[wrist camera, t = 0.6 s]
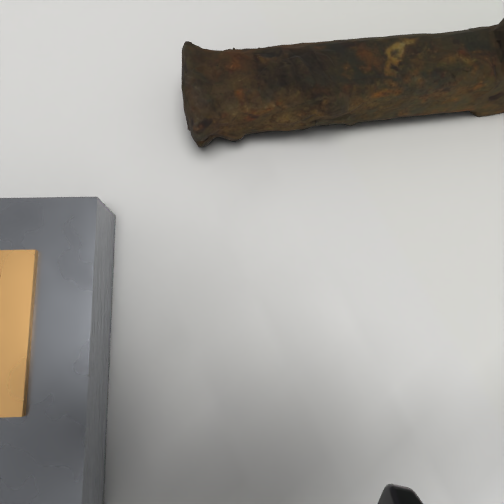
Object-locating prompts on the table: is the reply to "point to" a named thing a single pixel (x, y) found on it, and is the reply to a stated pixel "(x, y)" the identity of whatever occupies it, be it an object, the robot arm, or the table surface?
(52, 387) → the plate
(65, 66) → the table surface
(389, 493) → the robot arm
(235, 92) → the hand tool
